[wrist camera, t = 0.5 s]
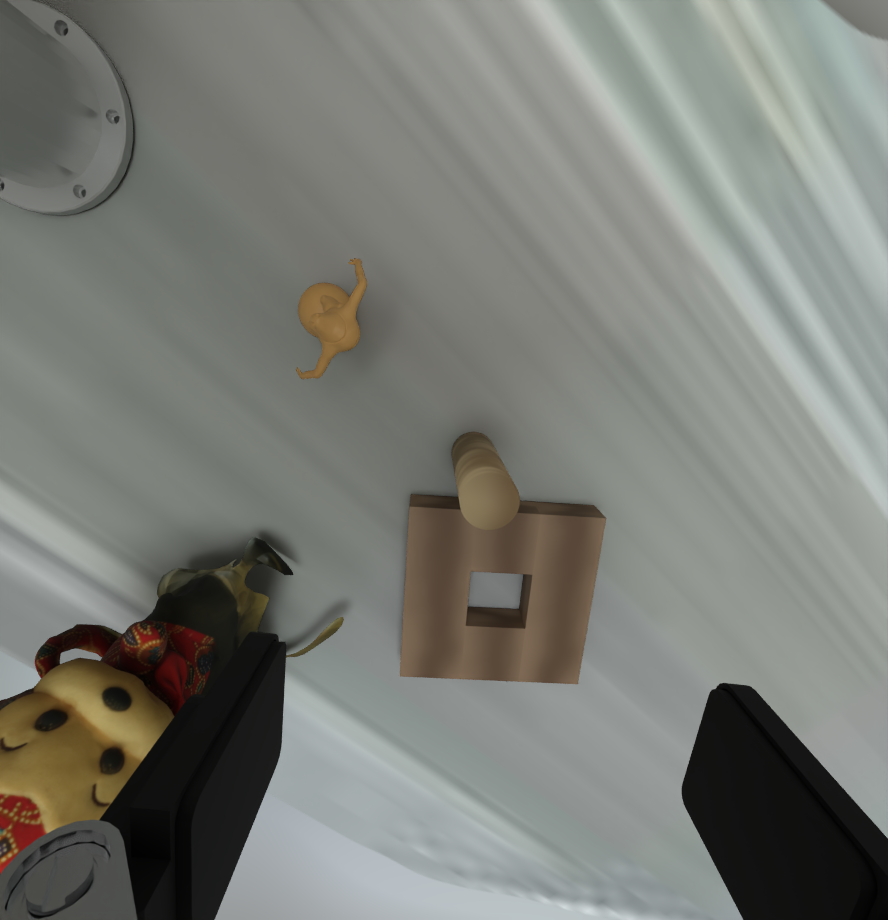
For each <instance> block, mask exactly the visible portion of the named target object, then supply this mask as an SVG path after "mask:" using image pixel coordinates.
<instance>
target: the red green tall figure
mask: <svg viewBox="0 0 888 920" xmlns="http://www.w3.org/2000/svg"><path fill="white" fill-rule="evenodd" d="M236 560H237V559H236ZM236 560H234V561H232V562H230V563H228V564H226V565H224V566H223V567H221V568H217V569H207V570H192V569H182V568H178V569H174V570H171V571H170V572H168V573H167V574H165V575H164V576H163V577H162V579H161V581H160V583H159V585H158V589H157V595H158V597H159V599H158V601H157V604H156V607H155V609H154V610H153V612H152V613H151V614H150V615H149V616H148V617H147V618H146V619H145V620H143V621H140V622H136V623H134V624H132V625H131V626H129V628H128V629H127V630H126V632H125V633H124V634H120V633H118V632H116V631H114V630H112V629H110V628H108V627H105V626H101V625H87V624H77V625H76V626H75V627H73V628H71V629H69V630H67V631H65V632H63V633H61V634H59V635H57V636H54V637H51V638H49V639H48V640H47V641H46V642H45V644H44V645H42V646H41V648H40V649H39V651H38V652H37V655H36V657H35V666H36V669H37V672H38V674H39V675H40V677H41V680H40V681H39V682H38V684H37V685H36V686H35V687H34V688H32V689H29V690H26V691H24V692H22V693H20V694H18V695H15V696H13V697H10V698H8V699H4V700H1V701H0V874H1V872H2V871H3V869H4V868H5V867H6V866H7V865H8V864H9V863H10V862H11V861H12V860H13V859H14V858H15V857H16V855H17V854H18V853H19V852H21V851H22V850H23V849H25V848H26V847H27V846H29V845H30V844H31V843H33V842H34V841H35V840H36V839H38V838H40V837H41V836H43V835H45V834H47V833H49V832H51V831H53V830H54V829H56V828H58V827H61V826H64V825H67V824H70V823H73V822H76V821H85V820H99V819H100V818H101V817H102V815H103V814H104V813H105V811H106V810H107V808H108V807H109V806H110V804H111V803H112V802H113V800H114V799H115V797H116V796H117V795H118V793H119V792H120V791H121V789H122V788H123V787H124V785H125V784H126V782H127V781H128V780H129V778H130V777H131V776H132V774H133V773H134V771H135V770H136V769H137V767H138V766H139V765H140V763H141V762H142V760H143V759H144V758H145V756H146V755H147V754H148V752H149V751H150V750H151V748H152V747H153V745H154V744H155V743H156V741H157V740H158V739H159V737H160V736H161V734H162V733H163V732H164V730H165V729H166V728H167V726H168V725H169V723H170V722H171V721H172V719H173V718H174V717H175V715H176V714H177V713H178V711H179V710H180V708H181V707H182V706H183V704H184V703H185V702H186V701H187V699H188V698H189V697H190V696H192V695H194V694H201V695H206V694H207V693H208V691H209V690H210V689H211V687H212V686H213V684H214V683H215V681H216V680H217V678H218V677H219V675H220V674H221V672H222V671H223V670H224V668H225V667H226V665H227V664H228V662H229V661H230V659H231V658H232V656H233V655H234V654H235V652H236V651H237V649H238V648H239V646H240V645H241V643H242V642H243V640H244V639H245V637H246V636H247V635H248V633H249V632H252V631H253V632H257V631H258V628H259V625H260V622H261V619H262V616H263V613H264V611H265V608H266V606H267V603H268V600H269V597H267V596H265V595H263V594H259V593H256V592H254V591H252V590H251V589H249V588H248V587H246V585H245V577H246V575H247V573H248V571H249V570H250V569H251V568H252V567H253V566H255V565H258V564H265V565H268V566H270V567H272V568H274V569H276V570H278V571H279V572H281V573H283V574H284V575H293V572H292V570H291V569H290V568H289V566H288V565H287V564H286V563H285V562H284V561H283V560H282V559H281V557H280V556H279V555H278V554H277V553H276V552H275V551H274V550H273V549H272V548H271V547H270V546H269V545H268V544H267V543H266V542H264V541H263V540H261V539H259V538H256V537H254V538H252V539H250V540H249V542H248V544H247V546H246V549H245V552H244V555H243V557H242V560H241V562H240V563H239V564H238V565H237V566H235V567H232V566H233V565H234V563H235V561H236ZM343 620H344V619H343V617H340V618H337V619H336V620H335V621H334V622H332V623H331V624H330V625H329V626H328V627H327V628H326V629H325V630H324V631H323V632H322V633H321V634H320V635H319V636H318V637H317V638H316V639H315V640H314V641H313V642H312V643H311V644H310V645H308V646H307V647H306V648H304V649H302V650H300V651H299V652H297V653H294V654H291V655H287V656H286V657H297V656H300V655H303V654H305V653H306V652H308V651H310V650H311V649H313V648H314V647H316V646H317V645H319V644H320V643H322V642H323V641H324V640H326V639H327V638H329V637H330V636H331V635H333V634H334V633H335V632H336V631H337V630H338V629H339V628H340V626H341V625H342V623H343ZM74 648H78V649H82V650H85V651H89V652H93V653H96V654H98V655H99V656H101V657H102V659H101V661H98V660H92V659H85V658H77V659H74V660H71V661H68V662H65V663H62V664H60V654H61V653H62V652H65V651H68V650H71V649H74Z"/></svg>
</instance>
